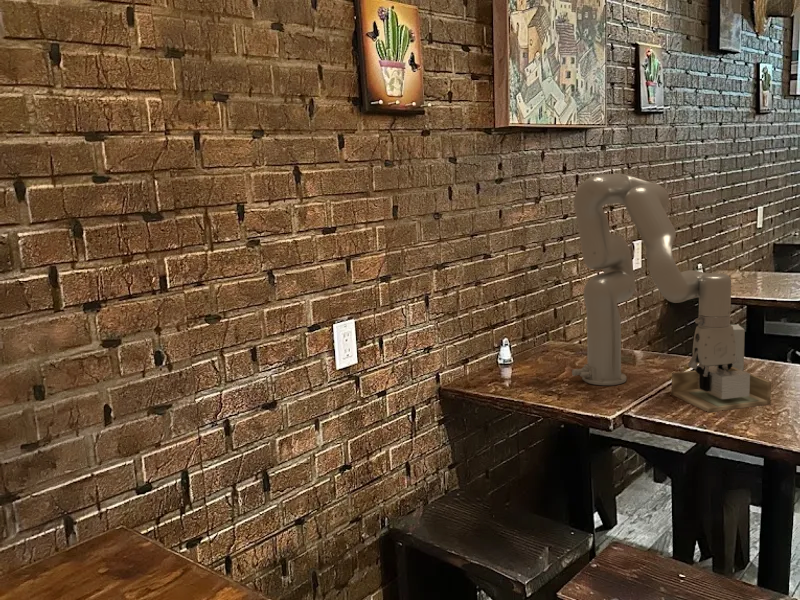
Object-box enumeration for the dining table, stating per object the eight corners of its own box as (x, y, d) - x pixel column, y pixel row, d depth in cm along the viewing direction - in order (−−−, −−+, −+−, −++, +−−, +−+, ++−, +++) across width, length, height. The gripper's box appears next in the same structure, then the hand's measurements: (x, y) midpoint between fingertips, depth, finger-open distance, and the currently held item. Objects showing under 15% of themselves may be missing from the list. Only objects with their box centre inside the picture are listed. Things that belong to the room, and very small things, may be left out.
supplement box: (744, 370, 213) (745, 329, 211) (717, 370, 215) (718, 329, 213) (737, 364, 220) (739, 324, 218) (712, 364, 222) (713, 324, 220)
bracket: (697, 388, 191) (698, 366, 190) (724, 385, 193) (724, 363, 192) (721, 399, 182) (722, 376, 181) (749, 395, 183) (750, 373, 182)
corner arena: (708, 412, 180) (708, 389, 179) (671, 394, 195) (671, 373, 194) (770, 404, 183) (771, 381, 182) (729, 386, 199) (730, 366, 198)
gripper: (694, 327, 180) (692, 396, 183) (752, 320, 183) (749, 389, 186) (676, 321, 187) (675, 388, 190) (733, 315, 191) (731, 381, 194)
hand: (712, 388), depth 188 cm, fingers closed on bracket, 4 cm apart
